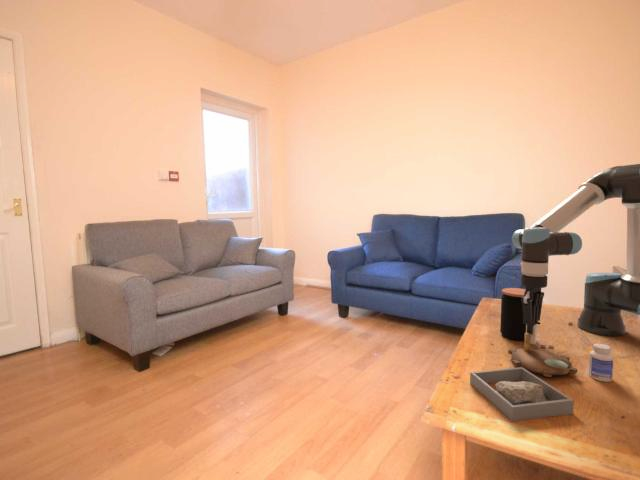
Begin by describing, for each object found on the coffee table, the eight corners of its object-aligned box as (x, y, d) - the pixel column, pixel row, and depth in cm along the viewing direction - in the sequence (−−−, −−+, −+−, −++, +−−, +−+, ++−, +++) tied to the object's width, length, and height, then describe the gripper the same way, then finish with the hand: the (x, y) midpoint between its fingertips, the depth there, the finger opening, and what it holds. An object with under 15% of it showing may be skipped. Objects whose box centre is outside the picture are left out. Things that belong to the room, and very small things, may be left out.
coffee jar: (529, 333, 137) (531, 289, 135) (533, 343, 127) (535, 295, 125) (499, 329, 141) (500, 286, 139) (500, 339, 131) (502, 293, 129)
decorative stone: (527, 418, 84) (528, 398, 83) (487, 396, 93) (488, 379, 93) (555, 403, 90) (556, 385, 89) (515, 384, 99) (516, 368, 99)
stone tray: (521, 378, 102) (522, 367, 102) (573, 413, 85) (573, 400, 85) (470, 383, 100) (470, 372, 100) (512, 421, 83) (512, 407, 82)
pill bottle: (616, 383, 99) (618, 350, 98) (595, 381, 100) (597, 349, 99) (605, 373, 104) (607, 343, 103) (584, 372, 105) (586, 341, 104)
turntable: (545, 348, 119) (546, 328, 118) (591, 372, 102) (593, 349, 101) (495, 353, 116) (496, 332, 115) (534, 378, 99) (535, 354, 98)
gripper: (529, 270, 120) (526, 334, 123) (513, 275, 112) (510, 344, 115) (554, 273, 115) (550, 341, 117) (538, 278, 107) (535, 351, 109)
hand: (530, 342), depth 116 cm, fingers closed
